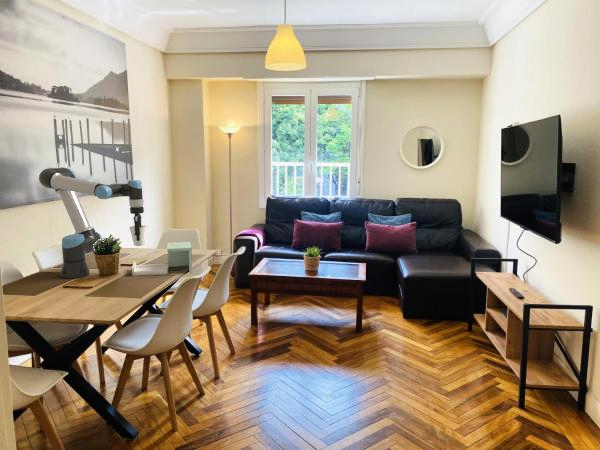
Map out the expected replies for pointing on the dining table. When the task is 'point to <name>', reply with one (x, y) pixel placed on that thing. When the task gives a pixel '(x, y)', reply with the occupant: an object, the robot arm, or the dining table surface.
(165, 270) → the tray
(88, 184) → the robot arm
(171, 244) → the pale green block
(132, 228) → the cup
